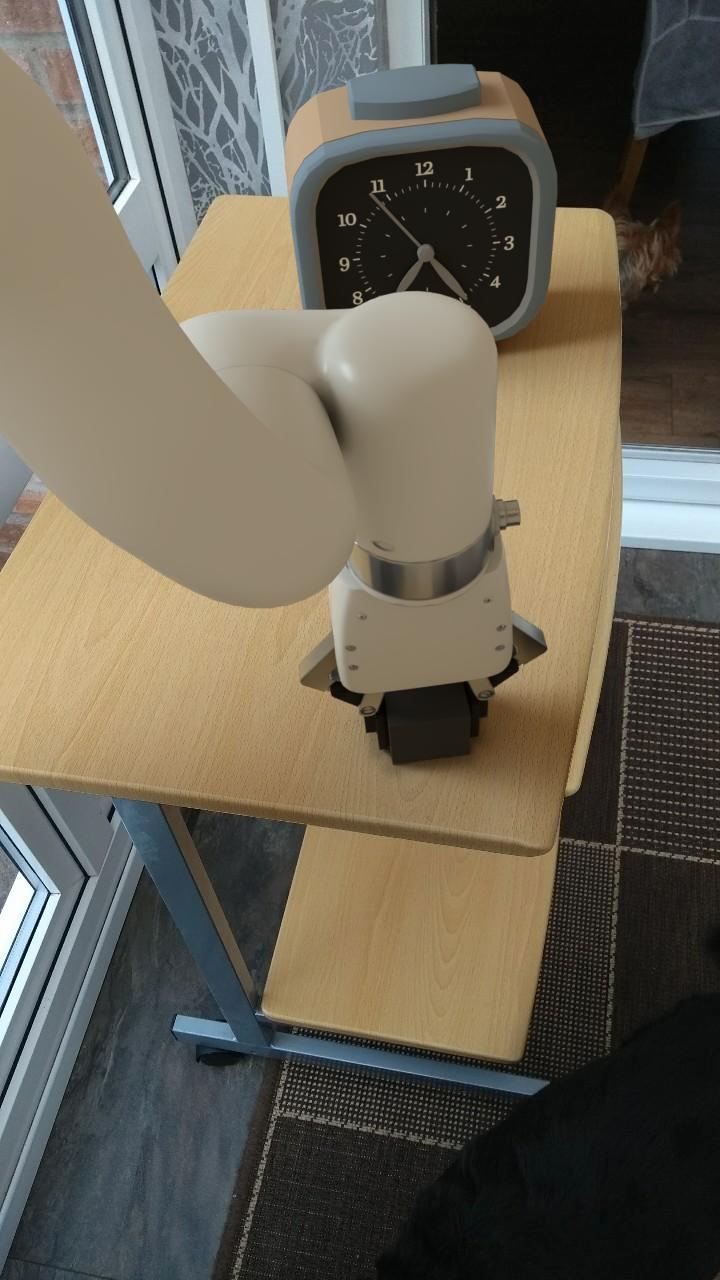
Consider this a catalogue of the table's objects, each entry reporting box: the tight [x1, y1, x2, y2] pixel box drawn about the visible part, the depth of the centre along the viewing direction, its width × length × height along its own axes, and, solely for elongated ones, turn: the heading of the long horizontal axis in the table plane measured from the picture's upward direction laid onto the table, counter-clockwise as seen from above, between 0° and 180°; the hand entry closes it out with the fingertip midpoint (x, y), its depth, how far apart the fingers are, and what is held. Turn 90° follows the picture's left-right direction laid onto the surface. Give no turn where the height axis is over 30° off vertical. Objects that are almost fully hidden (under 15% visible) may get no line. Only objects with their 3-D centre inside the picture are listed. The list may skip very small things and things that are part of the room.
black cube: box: [384, 681, 471, 766], centre depth 65 cm, size 5×5×4 cm
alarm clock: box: [284, 63, 558, 342], centre depth 83 cm, size 21×10×22 cm, turn 95°
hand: (425, 723), depth 66 cm, fingers open, 5 cm apart
